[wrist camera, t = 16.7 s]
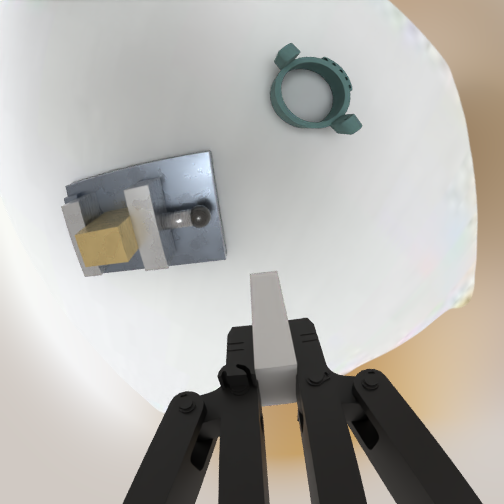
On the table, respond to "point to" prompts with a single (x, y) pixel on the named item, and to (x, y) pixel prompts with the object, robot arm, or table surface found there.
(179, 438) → the robot arm
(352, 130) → the bracket
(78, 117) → the table surface
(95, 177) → the vise
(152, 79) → the table surface
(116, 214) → the brass block
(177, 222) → the free jaw
